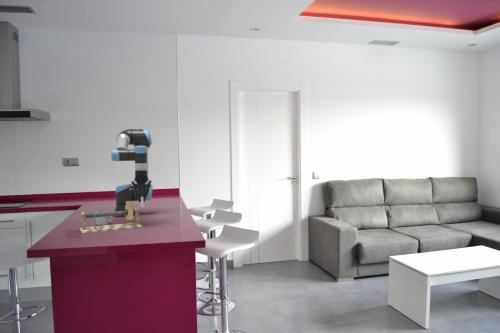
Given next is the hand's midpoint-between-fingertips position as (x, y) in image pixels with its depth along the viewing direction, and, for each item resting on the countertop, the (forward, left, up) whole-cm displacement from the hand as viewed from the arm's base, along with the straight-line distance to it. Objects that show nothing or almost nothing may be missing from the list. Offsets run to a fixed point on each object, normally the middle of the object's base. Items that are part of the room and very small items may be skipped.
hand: (141, 206), depth 244 cm
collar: (0, -8, -7) cm, 11 cm away
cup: (-19, -20, -12) cm, 30 cm away
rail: (0, -19, -12) cm, 22 cm away
